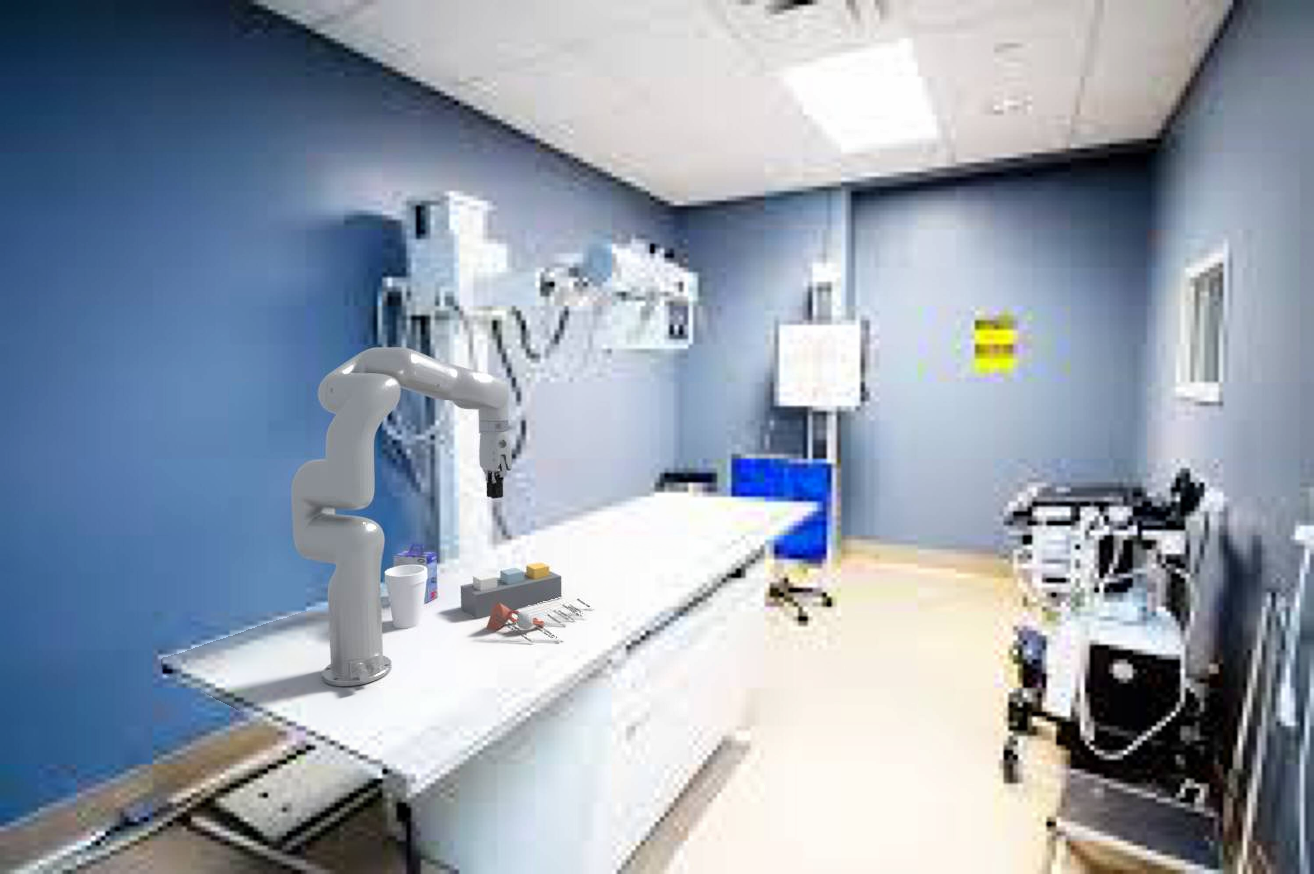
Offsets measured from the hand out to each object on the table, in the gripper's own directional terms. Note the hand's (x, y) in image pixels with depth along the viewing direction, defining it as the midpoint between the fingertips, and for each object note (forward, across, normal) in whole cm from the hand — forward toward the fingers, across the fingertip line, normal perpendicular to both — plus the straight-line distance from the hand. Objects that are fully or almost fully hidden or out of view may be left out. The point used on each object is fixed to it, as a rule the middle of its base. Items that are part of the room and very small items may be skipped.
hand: (494, 496), depth 177 cm
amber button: (+23, -7, -8) cm, 25 cm away
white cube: (+23, -7, +7) cm, 24 cm away
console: (+27, -7, -1) cm, 28 cm away
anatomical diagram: (+28, -25, -1) cm, 37 cm away
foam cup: (+27, -4, +25) cm, 37 cm away
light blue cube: (+23, -7, -1) cm, 24 cm away
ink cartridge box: (+27, +12, +17) cm, 34 cm away
